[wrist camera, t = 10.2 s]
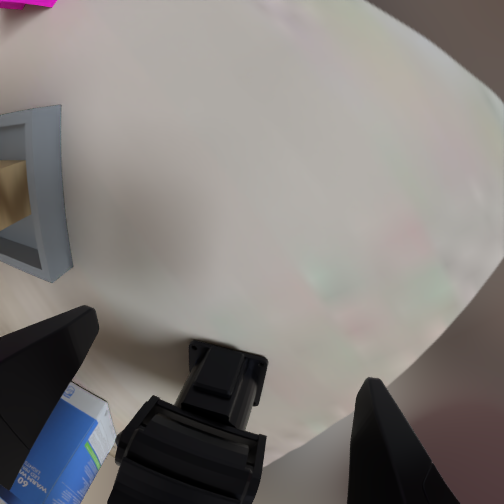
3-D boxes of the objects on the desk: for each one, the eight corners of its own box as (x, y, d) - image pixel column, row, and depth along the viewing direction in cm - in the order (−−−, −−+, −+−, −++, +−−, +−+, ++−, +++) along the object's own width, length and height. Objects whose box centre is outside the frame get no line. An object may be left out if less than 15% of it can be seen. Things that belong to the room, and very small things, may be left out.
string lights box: (66, 376, 34) (-28, 504, 12) (110, 402, 34) (20, 547, 11) (82, 419, 40) (14, 524, 18) (119, 440, 40) (55, 554, 17)
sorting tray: (73, 266, 24) (52, 283, 21) (-4, 239, 26) (-21, 250, 23) (61, 104, 18) (32, 108, 15) (-17, 119, 20) (-39, 124, 17)
